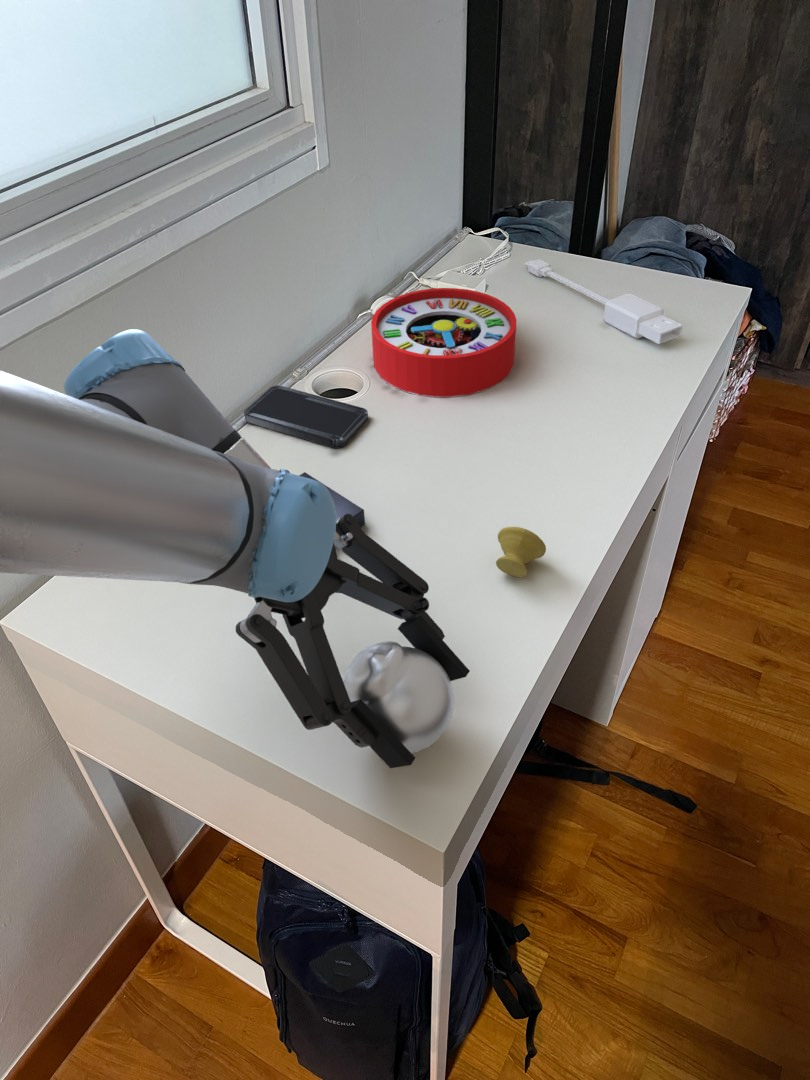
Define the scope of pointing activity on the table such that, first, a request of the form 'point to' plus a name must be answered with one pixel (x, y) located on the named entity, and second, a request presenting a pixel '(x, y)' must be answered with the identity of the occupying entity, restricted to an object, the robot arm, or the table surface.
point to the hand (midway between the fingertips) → (431, 717)
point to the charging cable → (622, 309)
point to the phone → (307, 416)
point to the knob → (518, 550)
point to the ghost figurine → (403, 691)
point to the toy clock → (443, 342)
